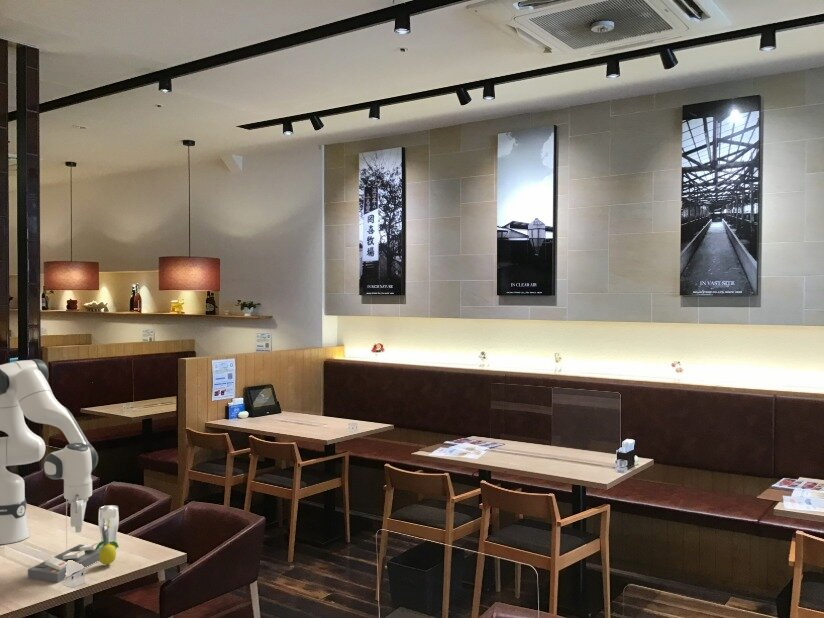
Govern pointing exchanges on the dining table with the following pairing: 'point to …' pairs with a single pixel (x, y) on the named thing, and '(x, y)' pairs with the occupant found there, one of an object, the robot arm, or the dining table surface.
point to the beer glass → (108, 523)
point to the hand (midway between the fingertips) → (78, 531)
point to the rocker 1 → (56, 563)
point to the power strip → (55, 575)
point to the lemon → (107, 552)
